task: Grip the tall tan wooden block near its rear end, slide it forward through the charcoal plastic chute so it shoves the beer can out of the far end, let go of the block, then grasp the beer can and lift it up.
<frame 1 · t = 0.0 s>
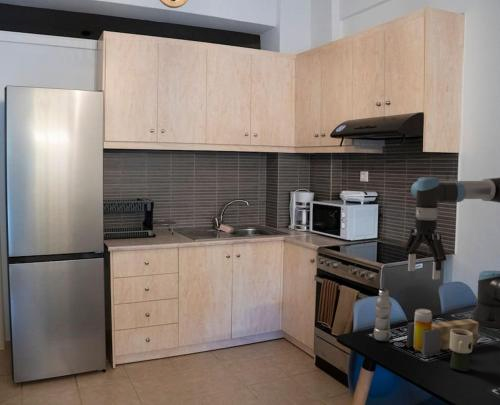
hand: (423, 274, 183), 28 cm above the table, fingers open, 13 cm apart
character mug: (459, 369, 166), on the table
beer can: (421, 350, 183), on the table
plastic bottle: (381, 340, 192), on the table
chute: (422, 349, 183), on the table
tan wooden block: (452, 345, 188), on the table
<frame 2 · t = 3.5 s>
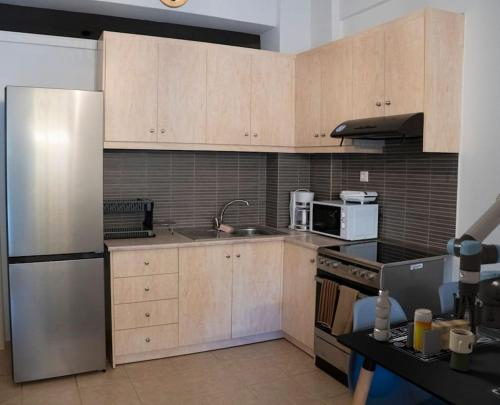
hand: (465, 339, 190), 2 cm above the table, fingers closed on tan wooden block, 4 cm apart
tan wooden block: (452, 345, 187), on the table, touching gripper
everything else where it was.
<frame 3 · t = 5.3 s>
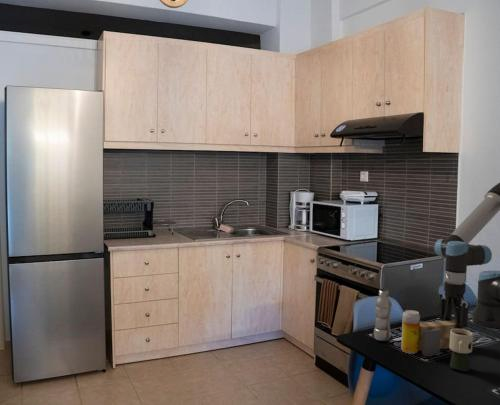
hand: (451, 341, 187), 2 cm above the table, fingers closed on tan wooden block, 4 cm apart
beer can: (409, 352, 181), on the table, touching tan wooden block
tan wooden block: (437, 346, 185), on the table, touching beer can, gripper
everything else where it was.
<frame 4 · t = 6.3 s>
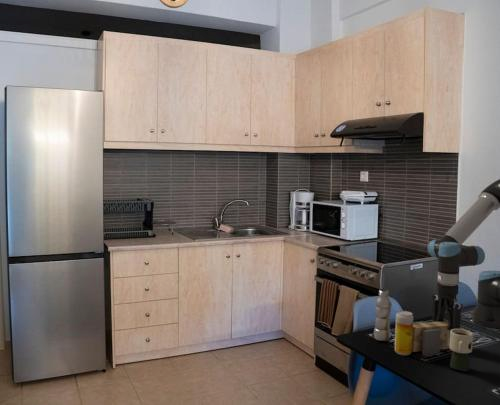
hand: (444, 342, 186), 1 cm above the table, fingers closed on tan wooden block, 4 cm apart
beer can: (402, 353, 180), on the table, touching tan wooden block
tan wooden block: (431, 347, 184), on the table, touching beer can, gripper
everything else where it was.
when the fingers open (1 cm above the table, at t = 8.4 s): tan wooden block stays where it is, on the table.
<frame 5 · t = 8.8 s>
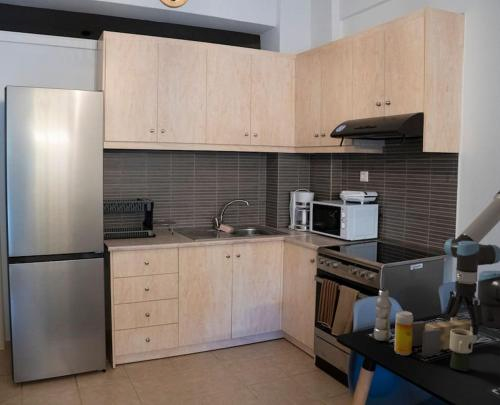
hand: (462, 337, 189), 2 cm above the table, fingers open, 9 cm apart
beer can: (402, 353, 179), on the table
tan wooden block: (449, 346, 187), on the table
everything else where it was.
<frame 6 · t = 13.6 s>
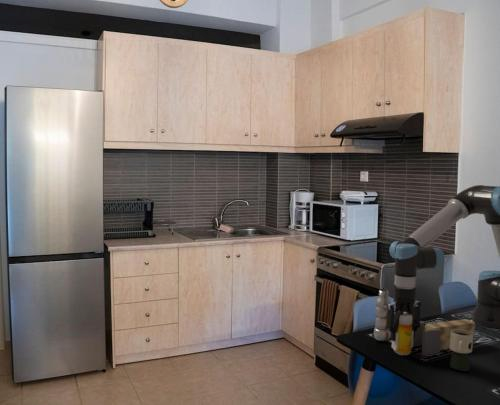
hand: (402, 347, 179), 2 cm above the table, fingers closed on beer can, 6 cm apart
beer can: (402, 353, 179), on the table, touching gripper
everything else where it was.
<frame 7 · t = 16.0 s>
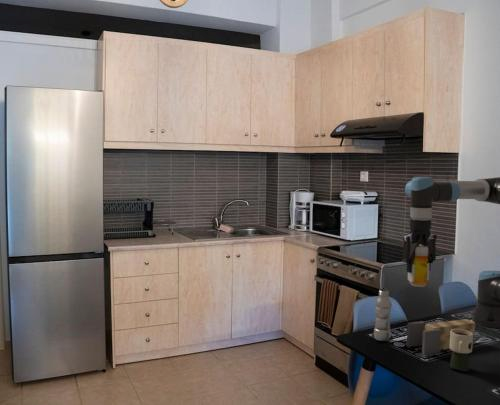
hand: (418, 280, 181), 26 cm above the table, fingers closed on beer can, 6 cm apart
beer can: (418, 285, 181), point 24 cm above the table, touching gripper
everything else where it was.
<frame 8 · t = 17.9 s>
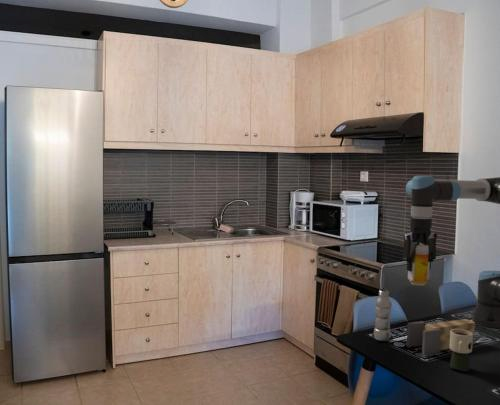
hand: (418, 278, 181), 27 cm above the table, fingers closed on beer can, 6 cm apart
beer can: (418, 284, 182), point 25 cm above the table, touching gripper
everything else where it was.
at the end: the gripper is holding beer can; beer can point 24.7 cm above the table; beer can moved 24.8 cm from its start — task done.
